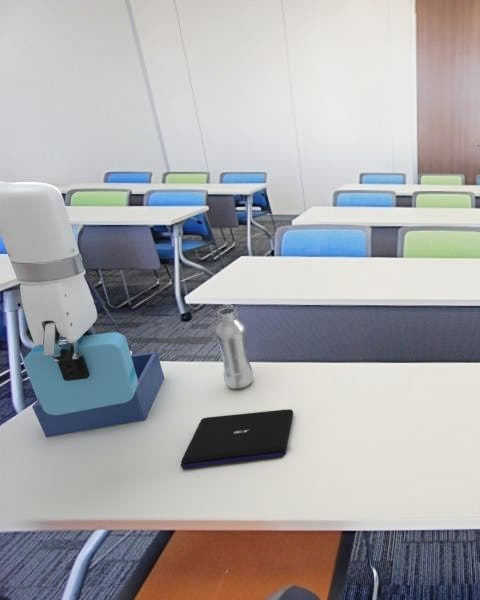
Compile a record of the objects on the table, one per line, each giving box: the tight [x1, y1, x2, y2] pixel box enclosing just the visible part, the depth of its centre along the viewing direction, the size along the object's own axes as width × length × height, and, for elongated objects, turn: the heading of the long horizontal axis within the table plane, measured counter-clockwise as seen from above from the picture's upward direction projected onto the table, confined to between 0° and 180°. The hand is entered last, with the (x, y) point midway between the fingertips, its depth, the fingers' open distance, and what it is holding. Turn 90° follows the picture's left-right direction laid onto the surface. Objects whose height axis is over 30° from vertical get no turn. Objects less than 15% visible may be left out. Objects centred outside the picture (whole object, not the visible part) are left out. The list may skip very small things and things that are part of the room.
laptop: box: [180, 408, 294, 470], centre depth 81 cm, size 16×20×2 cm
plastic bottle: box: [214, 307, 254, 390], centre depth 95 cm, size 6×7×20 cm
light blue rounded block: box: [23, 331, 138, 415], centre depth 68 cm, size 12×4×12 cm, turn 117°
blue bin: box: [32, 351, 165, 438], centre depth 88 cm, size 17×17×8 cm
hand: (84, 368), depth 67 cm, fingers closed on light blue rounded block, 4 cm apart
